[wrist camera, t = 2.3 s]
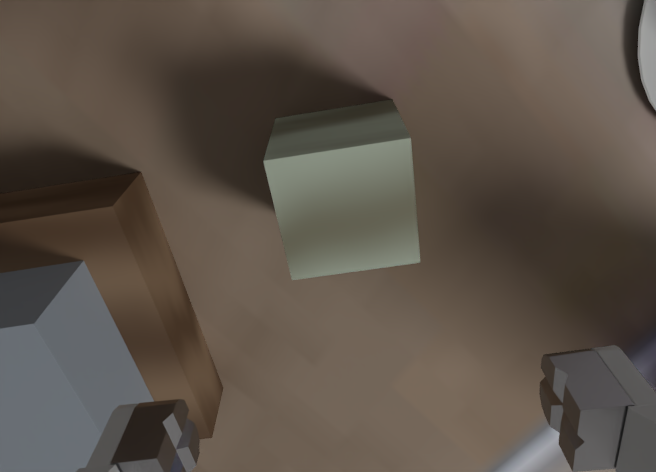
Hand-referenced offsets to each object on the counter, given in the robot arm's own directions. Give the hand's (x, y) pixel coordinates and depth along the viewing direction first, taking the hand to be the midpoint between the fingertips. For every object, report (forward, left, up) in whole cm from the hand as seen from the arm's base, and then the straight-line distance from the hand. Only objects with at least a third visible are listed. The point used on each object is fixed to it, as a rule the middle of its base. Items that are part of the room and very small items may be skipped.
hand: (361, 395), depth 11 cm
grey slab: (+6, -16, -9) cm, 19 cm away
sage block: (-1, 0, -13) cm, 13 cm away
